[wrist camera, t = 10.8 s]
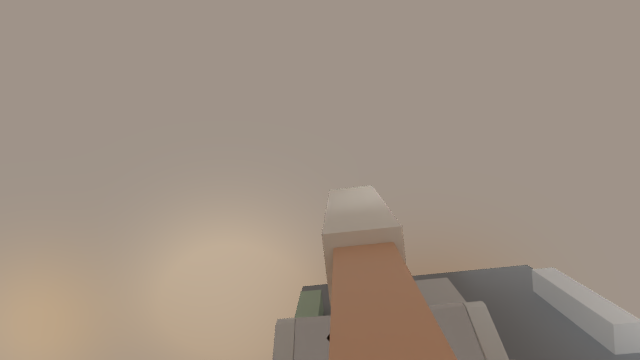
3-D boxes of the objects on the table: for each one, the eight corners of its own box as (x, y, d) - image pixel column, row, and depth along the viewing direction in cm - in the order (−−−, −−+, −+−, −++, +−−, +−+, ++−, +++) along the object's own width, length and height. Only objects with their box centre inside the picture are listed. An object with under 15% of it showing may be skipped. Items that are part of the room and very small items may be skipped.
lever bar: (524, 556, 6) (510, 372, 6) (318, 568, 6) (294, 390, 6) (376, 225, 30) (372, 185, 30) (333, 229, 30) (329, 190, 30)
